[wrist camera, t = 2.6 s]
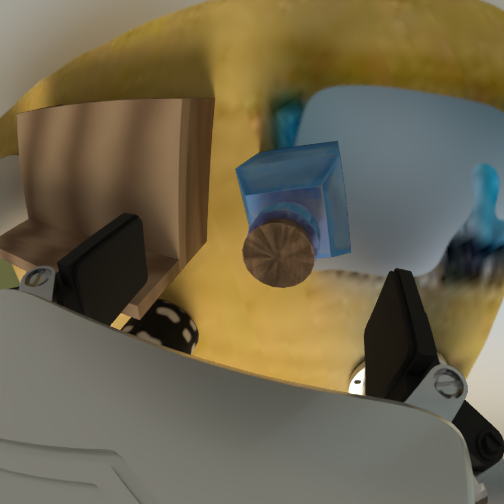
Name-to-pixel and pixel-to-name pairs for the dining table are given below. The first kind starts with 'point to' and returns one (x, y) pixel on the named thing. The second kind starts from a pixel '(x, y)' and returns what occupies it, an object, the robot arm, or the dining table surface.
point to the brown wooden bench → (115, 182)
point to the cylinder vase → (11, 194)
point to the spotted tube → (165, 327)
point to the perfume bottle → (293, 211)
